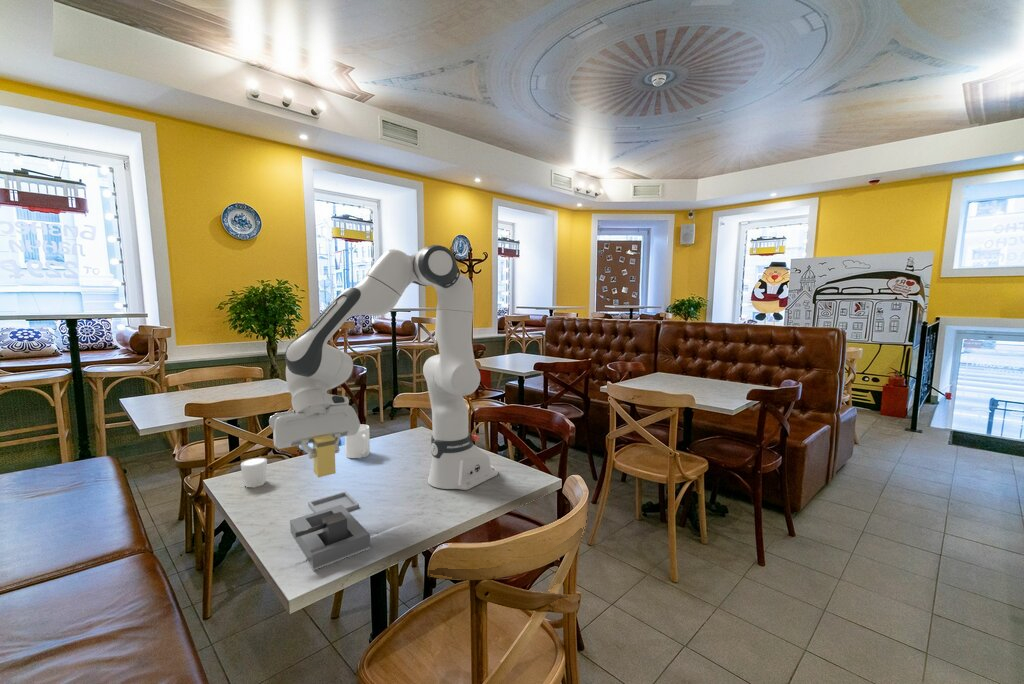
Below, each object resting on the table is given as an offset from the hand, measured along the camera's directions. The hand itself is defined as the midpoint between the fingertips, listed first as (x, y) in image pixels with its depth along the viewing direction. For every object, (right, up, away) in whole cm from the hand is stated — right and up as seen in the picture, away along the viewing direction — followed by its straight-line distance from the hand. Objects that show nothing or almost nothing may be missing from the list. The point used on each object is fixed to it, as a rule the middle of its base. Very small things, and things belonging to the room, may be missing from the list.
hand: (324, 454), depth 104 cm
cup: (-8, -13, +47) cm, 49 cm away
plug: (-1, -5, +1) cm, 5 cm away
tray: (-2, -17, +9) cm, 19 cm away
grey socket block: (+4, -18, -7) cm, 20 cm away
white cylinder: (-32, -15, +24) cm, 42 cm away
